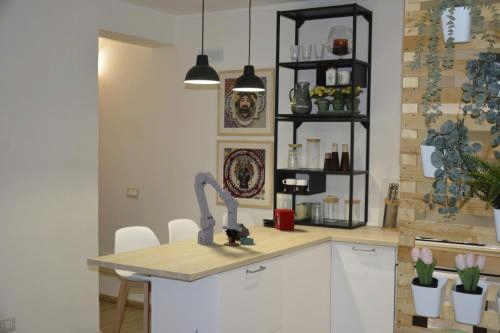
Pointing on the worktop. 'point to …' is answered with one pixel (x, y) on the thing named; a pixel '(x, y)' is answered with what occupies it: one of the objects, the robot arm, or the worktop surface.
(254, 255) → the worktop surface
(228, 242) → the lid
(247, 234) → the stone
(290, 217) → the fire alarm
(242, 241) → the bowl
